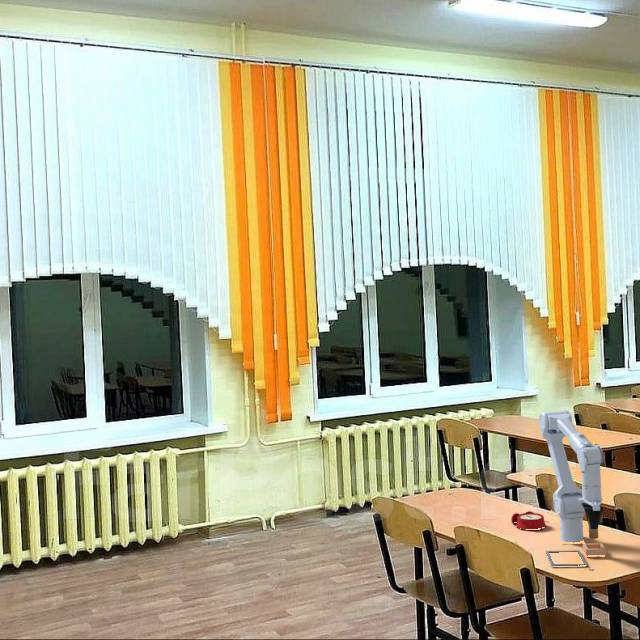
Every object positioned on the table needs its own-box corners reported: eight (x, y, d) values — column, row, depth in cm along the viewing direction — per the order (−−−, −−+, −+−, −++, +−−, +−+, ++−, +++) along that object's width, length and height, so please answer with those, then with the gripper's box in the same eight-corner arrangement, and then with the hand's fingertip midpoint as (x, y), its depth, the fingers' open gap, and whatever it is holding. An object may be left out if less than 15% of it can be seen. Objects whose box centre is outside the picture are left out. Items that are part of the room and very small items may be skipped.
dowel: (588, 536, 270) (587, 511, 270) (597, 536, 270) (596, 511, 270) (589, 538, 268) (588, 513, 267) (599, 538, 267) (598, 513, 267)
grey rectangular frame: (545, 554, 273) (545, 550, 273) (579, 554, 271) (579, 550, 271) (551, 568, 259) (551, 565, 259) (587, 568, 258) (587, 564, 258)
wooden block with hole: (583, 552, 272) (582, 543, 272) (602, 552, 272) (602, 543, 271) (586, 559, 266) (586, 549, 266) (606, 558, 266) (605, 549, 265)
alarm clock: (527, 523, 296) (505, 504, 310) (525, 540, 298) (504, 520, 311) (553, 519, 299) (530, 500, 313) (551, 535, 301) (529, 516, 314)
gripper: (574, 479, 276) (576, 521, 276) (582, 490, 261) (584, 534, 262) (596, 479, 275) (598, 520, 275) (606, 490, 260) (607, 534, 261)
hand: (593, 527), depth 269 cm, fingers closed on dowel, 3 cm apart
